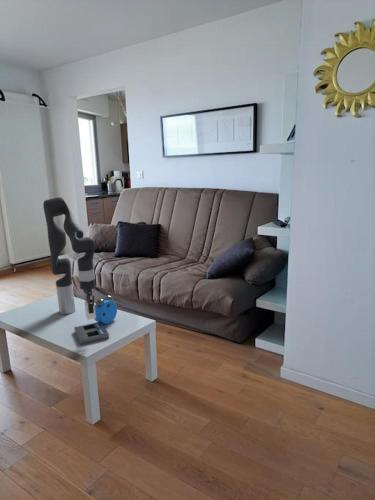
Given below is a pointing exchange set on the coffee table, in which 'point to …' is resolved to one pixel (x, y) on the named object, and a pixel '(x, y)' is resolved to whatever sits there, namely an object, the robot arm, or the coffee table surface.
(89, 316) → the plug
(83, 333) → the panel
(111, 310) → the alarm clock
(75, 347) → the coffee table surface
